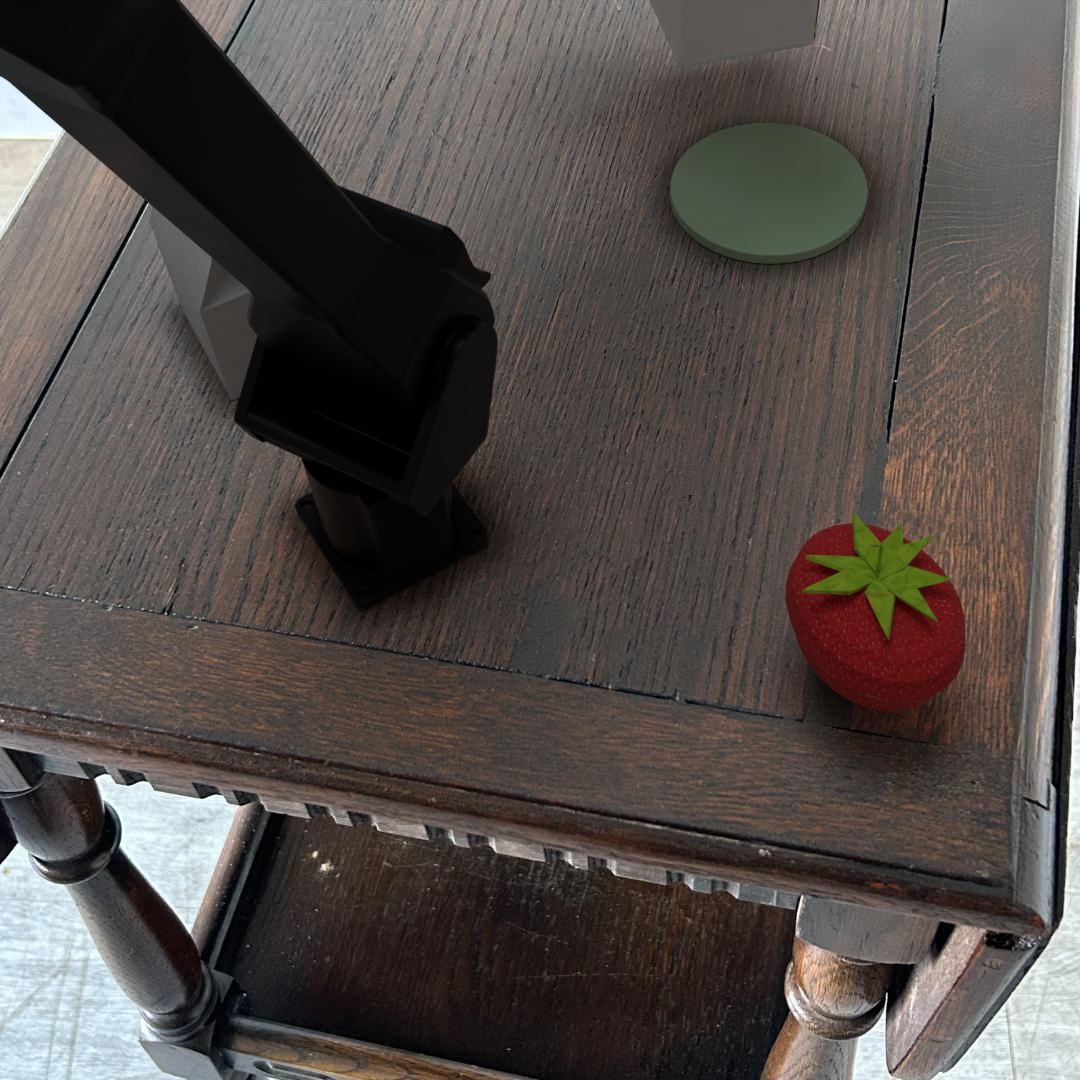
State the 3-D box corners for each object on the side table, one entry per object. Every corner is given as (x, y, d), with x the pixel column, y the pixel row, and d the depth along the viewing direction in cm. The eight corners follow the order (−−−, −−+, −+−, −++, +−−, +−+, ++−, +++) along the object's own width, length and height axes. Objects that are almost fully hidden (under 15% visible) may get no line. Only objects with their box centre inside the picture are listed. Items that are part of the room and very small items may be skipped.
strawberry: (846, 795, 53) (884, 663, 45) (741, 643, 57) (758, 498, 49) (975, 728, 54) (1035, 588, 46) (863, 584, 58) (900, 433, 50)
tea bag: (231, 400, 66) (174, 242, 58) (183, 311, 70) (122, 151, 61) (303, 370, 67) (257, 210, 59) (252, 283, 70) (201, 121, 62)
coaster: (907, 212, 71) (909, 203, 70) (745, 292, 68) (745, 283, 68) (787, 107, 76) (788, 98, 75) (632, 178, 73) (632, 169, 73)
